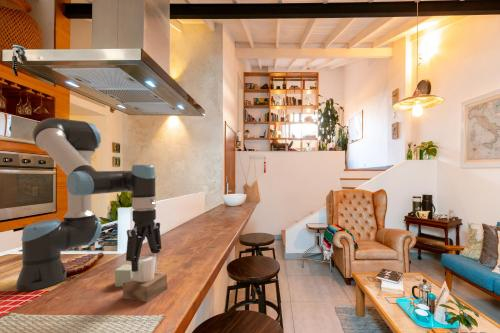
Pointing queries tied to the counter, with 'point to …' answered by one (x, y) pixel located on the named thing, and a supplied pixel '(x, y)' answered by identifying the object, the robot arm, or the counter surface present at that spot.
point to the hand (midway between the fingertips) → (145, 275)
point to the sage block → (123, 274)
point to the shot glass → (147, 267)
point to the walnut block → (145, 288)
